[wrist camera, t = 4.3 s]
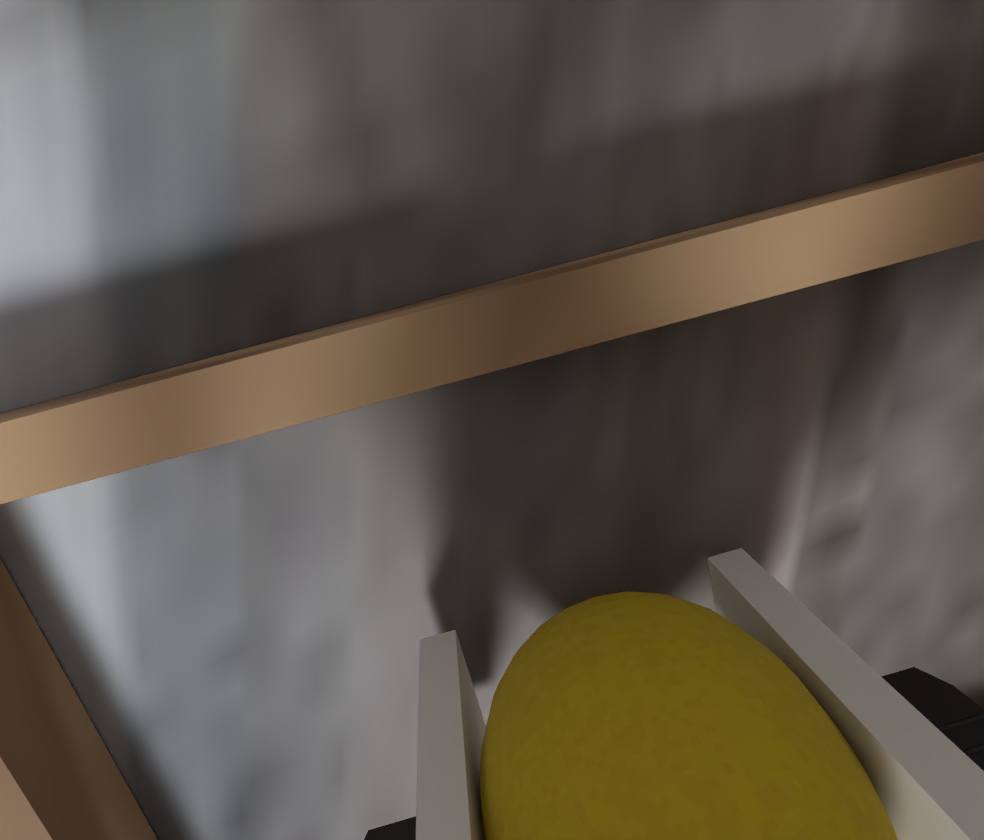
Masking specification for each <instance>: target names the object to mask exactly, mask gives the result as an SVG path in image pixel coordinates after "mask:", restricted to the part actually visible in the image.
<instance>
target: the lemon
mask: <svg viewBox="0 0 984 840" xmlns="http://www.w3.org/2000/svg"><path fill="white" fill-rule="evenodd" d="M480 794H481V808H482V822H483V834H484V840H898V839H897V836H896V833H895V831H894V828H893V826H892V824H891V822H890V819H889V817H888V815H887V813H886V810H885V808H884V806H883V804H882V801H881V800H880V798H879V796H878V794H877V792H876V790H875V788H874V786H873V784H872V782H871V780H870V778H869V777H868V775H867V773H866V771H865V769H864V768H863V766H862V764H861V763H860V761H859V759H858V758H857V756H856V754H855V753H854V751H853V749H852V748H851V746H850V745H849V743H848V742H847V740H846V739H845V737H844V736H843V734H842V733H841V731H840V730H839V729H838V727H837V726H836V724H835V723H834V722H833V721H832V719H831V718H830V717H829V716H828V714H827V713H826V712H825V711H824V709H823V708H822V707H821V705H820V704H819V703H818V702H817V700H816V699H815V698H814V697H813V695H812V694H811V693H810V692H809V690H808V689H807V688H806V687H805V685H804V684H803V683H802V682H801V680H800V679H799V678H798V677H797V676H796V675H795V674H794V673H793V672H792V670H791V669H790V668H789V667H788V666H787V665H786V664H785V663H784V662H783V661H782V660H781V659H780V658H779V657H777V656H776V655H775V654H774V653H773V652H772V651H771V650H770V649H769V648H767V647H766V646H765V645H763V644H762V643H761V642H759V641H758V640H757V639H755V638H754V637H753V636H751V635H750V634H748V633H747V632H745V631H744V630H742V629H741V628H739V627H738V626H736V625H735V624H733V623H732V622H730V621H729V620H727V619H726V618H724V617H723V616H721V615H719V614H717V613H716V612H714V611H712V610H710V609H708V608H705V607H703V606H700V605H697V604H694V603H691V602H688V601H685V600H682V599H679V598H676V597H673V596H670V595H666V594H659V593H645V592H629V591H626V592H620V593H614V594H607V595H601V596H596V597H593V598H591V599H588V600H585V601H583V602H580V603H578V604H575V605H573V606H570V607H568V608H566V609H564V610H563V611H561V612H560V613H558V614H557V615H555V616H554V617H553V618H551V619H550V620H548V621H547V622H545V623H544V624H542V625H541V626H540V627H539V628H538V629H537V630H536V631H535V632H534V633H533V634H532V635H531V637H530V638H529V639H528V640H527V641H526V642H525V643H524V644H523V645H522V646H521V647H520V648H519V650H518V651H517V653H516V654H515V655H514V657H513V659H512V661H511V662H510V664H509V666H508V668H507V670H506V671H505V673H504V675H503V677H502V679H501V680H500V682H499V684H498V687H497V689H496V691H495V694H494V696H493V700H492V705H491V709H490V713H489V717H488V722H487V726H486V730H485V735H484V739H483V744H482V751H481V760H480Z"/></svg>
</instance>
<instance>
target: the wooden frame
mask: <svg viewBox="0 0 984 840" xmlns="http://www.w3.org/2000/svg"><path fill="white" fill-rule="evenodd" d="M980 240H984V152H982V153H979V154H975V155H971V156H967V157H964V158H960V159H956V160H952V161H949V162H945V163H941V164H937V165H933V166H930V167H926V168H922V169H918V170H915V171H911V172H907V173H903V174H900V175H896V176H892V177H888V178H885V179H881V180H877V181H873V182H869V183H866V184H862V185H858V186H854V187H851V188H847V189H843V190H839V191H836V192H832V193H828V194H824V195H821V196H817V197H813V198H809V199H806V200H802V201H798V202H794V203H790V204H787V205H783V206H779V207H775V208H772V209H768V210H764V211H760V212H757V213H753V214H749V215H745V216H742V217H738V218H734V219H730V220H726V221H723V222H719V223H715V224H711V225H708V226H704V227H700V228H696V229H693V230H689V231H685V232H681V233H678V234H674V235H670V236H666V237H662V238H659V239H655V240H651V241H647V242H644V243H640V244H636V245H632V246H629V247H625V248H621V249H617V250H614V251H610V252H606V253H602V254H598V255H595V256H591V257H587V258H583V259H580V260H576V261H572V262H568V263H565V264H561V265H557V266H553V267H550V268H546V269H542V270H538V271H534V272H531V273H527V274H523V275H519V276H516V277H512V278H508V279H504V280H501V281H497V282H493V283H489V284H486V285H482V286H478V287H474V288H470V289H467V290H463V291H459V292H455V293H452V294H448V295H444V296H440V297H437V298H433V299H429V300H425V301H422V302H418V303H414V304H410V305H407V306H403V307H399V308H395V309H391V310H388V311H384V312H380V313H376V314H373V315H369V316H365V317H361V318H358V319H354V320H350V321H346V322H343V323H339V324H335V325H331V326H327V327H324V328H320V329H316V330H312V331H309V332H305V333H301V334H297V335H294V336H290V337H286V338H282V339H279V340H275V341H271V342H267V343H263V344H260V345H256V346H252V347H248V348H245V349H241V350H237V351H233V352H230V353H226V354H222V355H218V356H215V357H211V358H207V359H203V360H199V361H196V362H192V363H188V364H184V365H181V366H177V367H173V368H169V369H166V370H162V371H158V372H154V373H151V374H147V375H143V376H139V377H135V378H132V379H128V380H124V381H120V382H117V383H113V384H109V385H105V386H102V387H98V388H94V389H90V390H87V391H83V392H79V393H75V394H72V395H68V396H64V397H60V398H56V399H53V400H49V401H45V402H41V403H38V404H34V405H30V406H26V407H23V408H19V409H15V410H11V411H8V412H4V413H0V504H3V503H7V502H11V501H14V500H18V499H22V498H25V497H29V496H33V495H37V494H40V493H44V492H48V491H51V490H55V489H59V488H63V487H66V486H70V485H74V484H77V483H81V482H85V481H89V480H92V479H96V478H100V477H103V476H107V475H111V474H115V473H118V472H122V471H126V470H129V469H133V468H137V467H141V466H144V465H148V464H152V463H156V462H159V461H163V460H167V459H170V458H174V457H178V456H182V455H185V454H189V453H193V452H196V451H200V450H204V449H208V448H211V447H215V446H219V445H222V444H226V443H230V442H234V441H237V440H241V439H245V438H248V437H252V436H256V435H260V434H263V433H267V432H271V431H274V430H278V429H282V428H286V427H289V426H293V425H297V424H300V423H304V422H308V421H312V420H315V419H319V418H323V417H326V416H330V415H334V414H338V413H341V412H345V411H349V410H352V409H356V408H360V407H364V406H367V405H371V404H375V403H378V402H382V401H386V400H390V399H393V398H397V397H401V396H404V395H408V394H412V393H416V392H419V391H423V390H427V389H430V388H434V387H438V386H442V385H445V384H449V383H453V382H457V381H460V380H464V379H468V378H471V377H475V376H479V375H483V374H486V373H490V372H494V371H497V370H501V369H505V368H509V367H512V366H516V365H520V364H523V363H527V362H531V361H535V360H538V359H542V358H546V357H549V356H553V355H557V354H561V353H564V352H568V351H572V350H575V349H579V348H583V347H587V346H590V345H594V344H598V343H601V342H605V341H609V340H613V339H616V338H620V337H624V336H627V335H631V334H635V333H639V332H642V331H646V330H650V329H653V328H657V327H661V326H665V325H668V324H672V323H676V322H679V321H683V320H687V319H691V318H694V317H698V316H702V315H705V314H709V313H713V312H717V311H720V310H724V309H728V308H732V307H735V306H739V305H743V304H746V303H750V302H754V301H758V300H761V299H765V298H769V297H772V296H776V295H780V294H784V293H787V292H791V291H795V290H798V289H802V288H806V287H810V286H813V285H817V284H821V283H824V282H828V281H832V280H836V279H839V278H843V277H847V276H850V275H854V274H858V273H862V272H865V271H869V270H873V269H876V268H880V267H884V266H888V265H891V264H895V263H899V262H902V261H906V260H910V259H914V258H917V257H921V256H925V255H928V254H932V253H936V252H940V251H943V250H947V249H951V248H954V247H958V246H962V245H966V244H969V243H973V242H977V241H980ZM0 840H158V839H157V837H156V835H155V834H154V832H153V830H152V828H151V827H150V825H149V823H148V821H147V819H146V818H145V816H144V814H143V812H142V810H141V809H140V807H139V805H138V803H137V801H136V800H135V798H134V796H133V794H132V793H131V791H130V789H129V787H128V785H127V784H126V782H125V780H124V778H123V776H122V775H121V773H120V771H119V769H118V767H117V766H116V764H115V762H114V760H113V759H112V757H111V755H110V753H109V751H108V750H107V748H106V746H105V744H104V742H103V741H102V739H101V737H100V735H99V733H98V732H97V730H96V728H95V726H94V725H93V723H92V721H91V719H90V717H89V716H88V714H87V712H86V710H85V708H84V707H83V705H82V703H81V701H80V699H79V698H78V696H77V694H76V692H75V691H74V689H73V687H72V685H71V683H70V682H69V680H68V678H67V676H66V674H65V673H64V671H63V669H62V667H61V666H60V664H59V662H58V660H57V658H56V657H55V655H54V653H53V651H52V649H51V648H50V646H49V644H48V642H47V640H46V639H45V637H44V635H43V633H42V632H41V630H40V628H39V626H38V624H37V623H36V621H35V619H34V617H33V615H32V614H31V612H30V610H29V608H28V606H27V605H26V603H25V601H24V599H23V598H22V596H21V594H20V592H19V590H18V589H17V587H16V585H15V583H14V581H13V580H12V578H11V576H10V574H9V572H8V571H7V569H6V567H5V565H4V564H3V562H2V560H1V558H0Z"/></svg>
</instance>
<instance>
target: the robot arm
mask: <svg viewBox="0 0 984 840" xmlns="http://www.w3.org/2000/svg"><path fill="white" fill-rule="evenodd" d="M707 560H708V566H709V572H710V578H711V584H712V590H713V596H714V602H715V608H716V613H717V614H719V615H721V616H723V617H724V618H726V619H727V620H729V621H730V622H732V623H733V624H735V625H736V626H738V627H739V628H741V629H742V630H744V631H745V632H747V633H748V634H750V635H751V636H753V637H754V638H755V639H757V640H758V641H759V642H761V643H762V644H763V645H765V646H766V647H767V648H769V649H770V650H771V651H772V652H773V653H774V654H775V655H776V656H777V657H779V658H780V659H781V660H782V661H783V662H784V663H785V664H786V665H787V666H788V667H789V668H790V669H791V670H792V672H793V673H794V674H795V675H796V676H797V677H798V678H799V679H800V680H801V682H802V683H803V684H804V685H805V687H806V688H807V689H808V690H809V692H810V693H811V694H812V695H813V697H814V698H815V699H816V700H817V702H818V703H819V704H820V705H821V707H822V708H823V709H824V711H825V712H826V713H827V714H828V716H829V717H830V718H831V719H832V721H833V722H834V723H835V724H836V726H837V727H838V729H839V730H840V731H841V733H842V734H843V736H844V737H845V739H846V740H847V742H848V743H849V745H850V746H851V748H852V749H853V751H854V753H855V754H856V756H857V758H858V759H859V761H860V763H861V764H862V766H863V768H864V769H865V771H866V773H867V775H868V777H869V778H870V780H871V782H872V784H873V786H874V788H875V790H876V792H877V794H878V796H879V798H880V800H881V801H882V804H883V806H884V808H885V810H886V813H887V815H888V817H889V819H890V822H891V824H892V826H893V828H894V831H895V833H896V836H897V839H898V840H984V710H983V709H981V708H980V707H979V706H978V705H976V704H975V703H974V702H973V701H972V700H970V699H969V698H968V697H967V696H965V695H964V694H963V693H962V692H960V691H959V690H958V689H957V688H956V687H954V686H953V685H951V684H949V683H947V682H945V681H942V680H940V679H938V678H936V677H934V676H932V675H930V674H928V673H926V672H923V671H921V670H919V669H917V668H915V667H913V668H909V669H906V670H903V671H899V672H896V673H892V674H889V675H886V676H882V677H881V676H880V675H879V674H878V673H877V672H876V671H875V670H873V669H872V668H871V667H870V666H869V665H868V664H867V663H866V662H865V661H864V660H863V659H862V658H860V657H859V656H858V655H857V654H856V653H855V652H854V651H853V650H852V649H851V648H850V647H848V646H847V645H846V644H845V643H844V642H843V641H842V640H841V639H840V638H839V637H838V636H837V635H835V634H834V633H833V632H832V631H831V630H830V629H829V628H828V627H827V626H826V625H825V624H824V623H822V622H821V621H820V620H819V619H818V618H817V617H816V616H815V615H814V614H813V613H812V612H811V611H809V610H808V609H807V608H806V607H805V606H804V605H803V604H802V603H801V602H800V601H799V600H797V599H796V598H795V597H794V596H793V595H792V594H791V593H790V592H789V591H788V590H787V589H786V588H784V587H783V586H782V585H781V584H780V583H779V582H778V581H777V580H776V579H775V578H774V577H773V576H771V575H770V574H769V573H768V572H767V571H766V570H765V569H764V568H763V567H762V566H761V565H760V564H758V563H757V562H756V561H755V560H754V559H753V558H752V557H751V556H750V555H749V554H748V553H747V552H745V551H744V550H743V549H742V548H739V549H736V550H732V551H729V552H725V553H722V554H718V555H715V556H711V557H708V558H707ZM485 730H486V725H485V722H484V719H483V716H482V712H481V709H480V706H479V703H478V700H477V697H476V693H475V690H474V687H473V684H472V681H471V678H470V674H469V671H468V668H467V665H466V662H465V659H464V655H463V652H462V649H461V646H460V643H459V640H458V636H457V633H456V630H452V631H449V632H445V633H442V634H438V635H435V636H431V637H428V638H424V639H421V640H420V657H419V705H418V753H417V802H416V817H412V818H409V819H405V820H402V821H399V822H395V823H392V824H389V825H385V826H382V827H378V828H375V829H372V830H368V832H367V835H366V837H365V839H364V840H484V834H483V822H482V808H481V794H480V760H481V751H482V744H483V739H484V735H485Z"/></svg>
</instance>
